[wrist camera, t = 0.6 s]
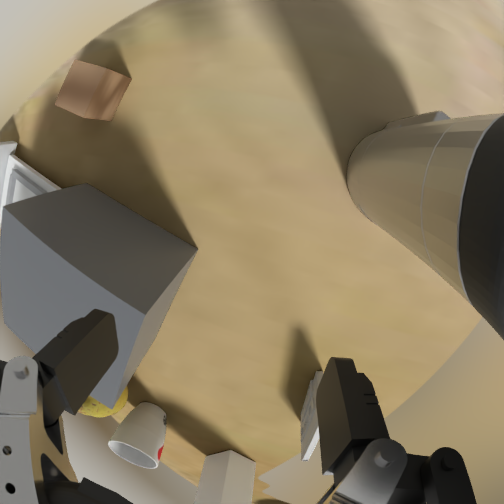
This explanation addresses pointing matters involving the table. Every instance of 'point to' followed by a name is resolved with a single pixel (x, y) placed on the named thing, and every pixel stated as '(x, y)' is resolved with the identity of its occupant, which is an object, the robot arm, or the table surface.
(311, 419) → the cassette
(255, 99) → the table surface
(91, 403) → the fruit
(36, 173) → the grey flat-panelled piece
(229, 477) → the milk carton
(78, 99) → the block
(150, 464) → the cup
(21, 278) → the grey open box
